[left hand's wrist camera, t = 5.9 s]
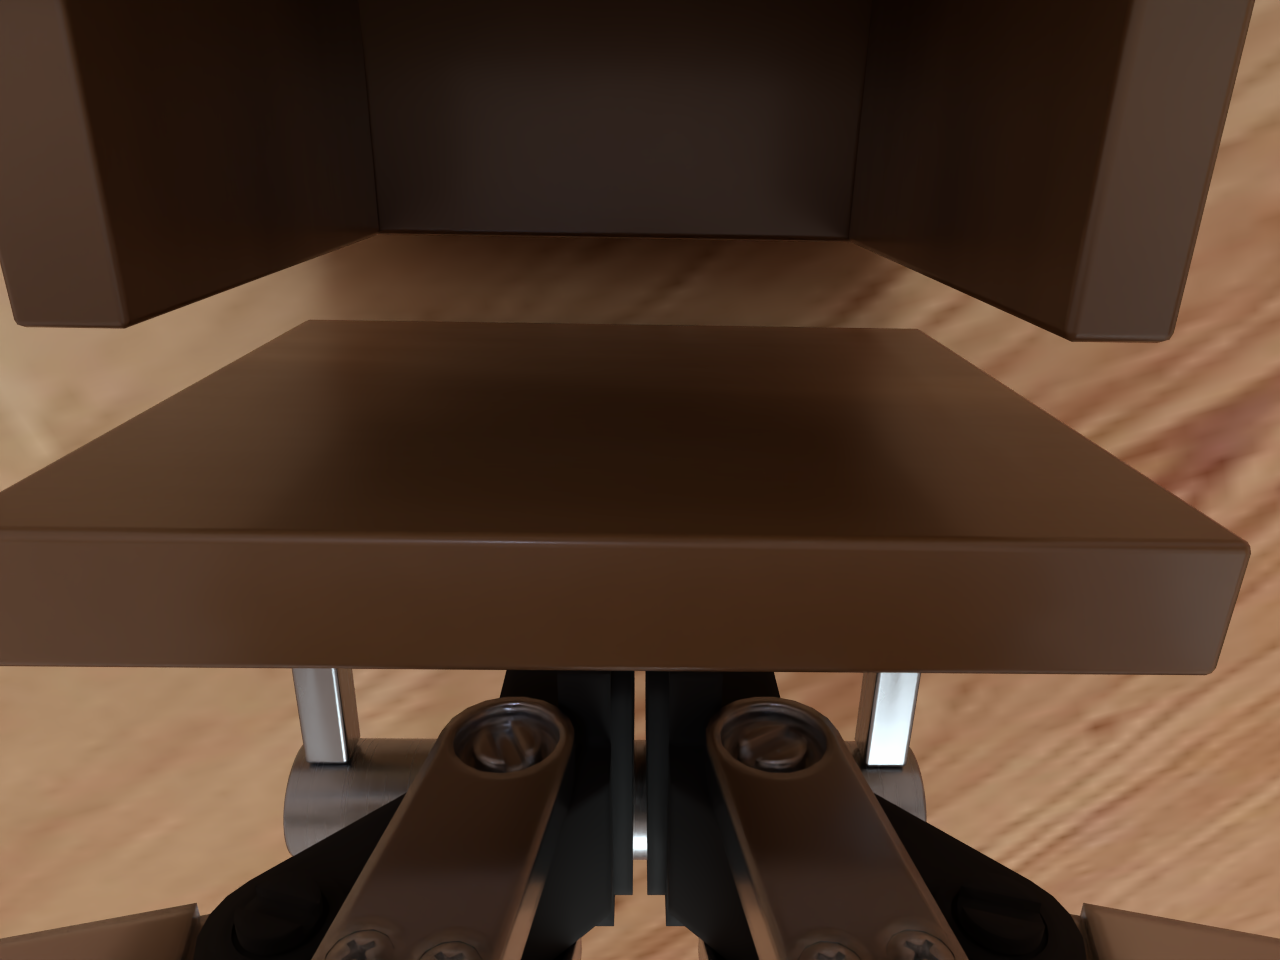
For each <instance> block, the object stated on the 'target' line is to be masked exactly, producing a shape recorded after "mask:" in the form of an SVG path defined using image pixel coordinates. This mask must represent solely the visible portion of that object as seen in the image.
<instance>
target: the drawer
mask: <svg viewBox="0 0 1280 960" xmlns="http://www.w3.org/2000/svg"><path fill="white" fill-rule="evenodd" d="M1254 2H1255V0H0V264H1V268H2V272H3V276H4V280H5V284H6V288H7V292H8V296H9V300H10V304H11V308H12V312H13V316H14V320H15V321H16V323H17V324H18V325H21V326H25V327H57V328H127V327H130V326H132V325H135V324H138V323H141V322H143V321H146V320H149V319H151V318H154V317H157V316H159V315H162V314H165V313H167V312H170V311H173V310H175V309H178V308H181V307H184V306H186V305H189V304H192V303H194V302H197V301H200V300H202V299H205V298H208V297H210V296H213V295H216V294H218V293H221V292H224V291H227V290H229V289H232V288H235V287H237V286H240V285H243V284H245V283H248V282H251V281H253V280H256V279H259V278H261V277H264V276H267V275H270V274H272V273H275V272H278V271H280V270H283V269H286V268H288V267H291V266H294V265H296V264H299V263H302V262H305V261H307V260H310V259H313V258H315V257H318V256H321V255H323V254H326V253H329V252H331V251H334V250H337V249H339V248H342V247H345V246H348V245H350V244H353V243H356V242H358V241H361V240H364V239H366V238H369V237H372V236H374V235H377V234H401V235H461V236H520V237H579V238H638V239H698V240H757V241H816V242H852V243H854V244H857V245H859V246H861V247H863V248H865V249H868V250H870V251H872V252H874V253H877V254H879V255H881V256H883V257H885V258H888V259H890V260H892V261H894V262H896V263H899V264H901V265H903V266H905V267H908V268H910V269H912V270H914V271H916V272H919V273H921V274H923V275H925V276H927V277H930V278H932V279H934V280H936V281H939V282H941V283H943V284H945V285H947V286H950V287H952V288H954V289H956V290H958V291H961V292H963V293H965V294H967V295H970V296H972V297H974V298H976V299H978V300H981V301H983V302H985V303H987V304H989V305H992V306H994V307H996V308H998V309H1001V310H1003V311H1005V312H1007V313H1009V314H1012V315H1014V316H1016V317H1018V318H1020V319H1023V320H1025V321H1027V322H1029V323H1032V324H1034V325H1036V326H1038V327H1040V328H1043V329H1045V330H1047V331H1049V332H1051V333H1054V334H1056V335H1058V336H1060V337H1062V338H1065V339H1067V340H1069V341H1071V342H1130V343H1158V342H1162V341H1165V340H1169V339H1170V338H1171V336H1172V334H1173V333H1174V329H1175V325H1176V321H1177V317H1178V313H1179V309H1180V305H1181V301H1182V296H1183V292H1184V288H1185V284H1186V280H1187V276H1188V272H1189V268H1190V264H1191V260H1192V256H1193V252H1194V247H1195V243H1196V239H1197V235H1198V231H1199V227H1200V223H1201V219H1202V215H1203V211H1204V207H1205V203H1206V198H1207V194H1208V190H1209V186H1210V182H1211V178H1212V174H1213V170H1214V166H1215V162H1216V158H1217V154H1218V149H1219V145H1220V141H1221V137H1222V133H1223V129H1224V125H1225V121H1226V117H1227V113H1228V109H1229V105H1230V100H1231V96H1232V92H1233V88H1234V84H1235V80H1236V76H1237V72H1238V68H1239V64H1240V60H1241V56H1242V51H1243V47H1244V43H1245V39H1246V35H1247V31H1248V27H1249V23H1250V19H1251V15H1252V11H1253V7H1254ZM1250 555H1251V550H1250V545H1249V544H1248V542H1247V541H1245V540H1243V539H1242V538H1240V537H1239V536H1237V535H1236V534H1234V533H1233V532H1231V531H1230V530H1228V529H1226V528H1225V527H1223V526H1222V525H1220V524H1219V523H1217V522H1216V521H1214V520H1213V519H1211V518H1209V517H1208V516H1206V515H1205V514H1203V513H1202V512H1200V511H1199V510H1197V509H1196V508H1194V507H1192V506H1191V505H1189V504H1188V503H1186V502H1185V501H1183V500H1182V499H1180V498H1179V497H1177V496H1175V495H1174V494H1172V493H1171V492H1169V491H1168V490H1166V489H1165V488H1163V487H1162V486H1160V485H1158V484H1157V483H1155V482H1154V481H1152V480H1151V479H1149V478H1148V477H1146V476H1145V475H1143V474H1141V473H1140V472H1138V471H1137V470H1135V469H1134V468H1132V467H1131V466H1129V465H1128V464H1126V463H1124V462H1123V461H1121V460H1120V459H1118V458H1117V457H1115V456H1114V455H1112V454H1111V453H1109V452H1107V451H1106V450H1104V449H1103V448H1101V447H1100V446H1098V445H1097V444H1095V443H1094V442H1092V441H1090V440H1089V439H1087V438H1086V437H1084V436H1083V435H1081V434H1080V433H1078V432H1077V431H1075V430H1073V429H1072V428H1070V427H1069V426H1067V425H1066V424H1064V423H1063V422H1061V421H1060V420H1058V419H1056V418H1055V417H1053V416H1052V415H1050V414H1049V413H1047V412H1046V411H1044V410H1043V409H1041V408H1039V407H1038V406H1036V405H1035V404H1033V403H1032V402H1030V401H1029V400H1027V399H1026V398H1024V397H1022V396H1021V395H1019V394H1018V393H1016V392H1015V391H1013V390H1012V389H1010V388H1009V387H1007V386H1005V385H1004V384H1002V383H1001V382H999V381H998V380H996V379H995V378H993V377H992V376H990V375H988V374H987V373H985V372H984V371H982V370H981V369H979V368H978V367H976V366H975V365H973V364H971V363H970V362H968V361H967V360H965V359H964V358H962V357H961V356H959V355H958V354H956V353H954V352H953V351H951V350H950V349H948V348H947V347H945V346H944V345H942V344H941V343H939V342H937V341H936V340H934V339H933V338H931V337H930V336H928V335H927V334H925V333H924V332H922V331H920V330H918V329H884V328H817V327H750V326H684V325H617V324H551V323H484V322H417V321H351V320H308V321H305V322H304V323H302V324H300V325H298V326H296V327H295V328H293V329H291V330H289V331H287V332H286V333H284V334H282V335H280V336H279V337H277V338H275V339H273V340H271V341H270V342H268V343H266V344H264V345H262V346H261V347H259V348H257V349H255V350H253V351H252V352H250V353H248V354H246V355H245V356H243V357H241V358H239V359H237V360H236V361H234V362H232V363H230V364H228V365H227V366H225V367H223V368H221V369H219V370H218V371H216V372H214V373H212V374H211V375H209V376H207V377H205V378H203V379H202V380H200V381H198V382H196V383H194V384H193V385H191V386H189V387H187V388H185V389H184V390H182V391H180V392H178V393H177V394H175V395H173V396H171V397H169V398H168V399H166V400H164V401H162V402H160V403H159V404H157V405H155V406H153V407H152V408H150V409H148V410H146V411H144V412H143V413H141V414H139V415H137V416H135V417H134V418H132V419H130V420H128V421H126V422H125V423H123V424H121V425H119V426H118V427H116V428H114V429H112V430H110V431H109V432H107V433H105V434H103V435H101V436H100V437H98V438H96V439H94V440H92V441H91V442H89V443H87V444H85V445H84V446H82V447H80V448H78V449H76V450H75V451H73V452H71V453H69V454H67V455H66V456H64V457H62V458H60V459H58V460H57V461H55V462H53V463H51V464H50V465H48V466H46V467H44V468H42V469H41V470H39V471H37V472H35V473H33V474H32V475H30V476H28V477H26V478H24V479H23V480H21V481H19V482H17V483H16V484H14V485H12V486H10V487H8V488H7V489H5V490H3V491H1V492H0V666H66V667H199V668H292V673H293V680H294V686H295V693H296V700H297V706H298V713H299V719H300V726H301V732H302V739H303V745H302V747H301V748H300V750H299V751H298V753H297V756H296V758H295V760H294V763H293V766H292V768H291V772H290V775H289V779H288V783H287V788H286V794H285V801H284V816H283V822H284V836H285V842H286V846H287V849H288V851H289V853H290V854H291V855H292V856H294V855H296V854H298V853H300V852H301V851H303V850H305V849H307V848H309V847H310V846H312V845H314V844H316V843H317V842H319V841H321V840H323V839H325V838H326V837H328V836H330V835H332V834H334V833H335V832H337V831H339V830H341V829H342V828H344V827H346V826H348V825H350V824H351V823H353V822H355V821H357V820H358V819H360V818H362V817H364V816H366V815H367V814H369V813H371V812H373V811H374V810H376V809H378V808H380V807H382V806H383V805H385V804H387V803H389V802H391V801H392V800H394V799H396V798H398V797H399V796H401V795H403V794H405V793H407V791H408V789H409V788H410V786H411V784H412V782H413V781H414V779H415V777H416V775H417V774H418V772H419V770H420V768H421V767H422V765H423V763H424V761H425V760H426V758H427V756H428V754H429V753H430V751H431V749H432V747H433V746H434V744H435V742H436V740H437V739H386V738H360V730H359V722H358V714H357V706H356V698H355V689H354V681H353V673H352V669H464V670H596V671H729V672H862V673H863V680H862V688H861V696H860V703H859V711H858V718H857V726H856V733H855V741H844V742H845V744H846V746H847V747H848V749H849V751H850V753H851V754H852V756H853V758H854V760H855V761H856V763H857V765H858V767H859V768H860V770H861V772H862V774H863V775H864V777H865V779H866V781H867V782H868V784H869V786H870V788H871V789H872V791H873V793H875V794H877V795H879V796H881V797H882V798H884V799H886V800H888V801H889V802H891V803H893V804H895V805H897V806H898V807H900V808H902V809H904V810H906V811H907V812H909V813H911V814H913V815H914V816H916V817H918V818H920V819H922V820H923V821H925V822H926V801H925V792H924V786H923V781H922V777H921V773H920V769H919V766H918V763H917V760H916V758H915V755H914V753H913V752H912V750H911V748H910V747H909V745H910V738H911V732H912V726H913V720H914V713H915V707H916V701H917V695H918V689H919V682H920V676H921V673H994V674H1127V675H1207V674H1210V673H1212V672H1213V671H1214V670H1215V668H1216V666H1217V662H1218V659H1219V656H1220V653H1221V649H1222V646H1223V643H1224V640H1225V636H1226V633H1227V630H1228V627H1229V623H1230V620H1231V617H1232V613H1233V610H1234V607H1235V604H1236V600H1237V597H1238V594H1239V591H1240V587H1241V584H1242V581H1243V578H1244V574H1245V571H1246V568H1247V565H1248V561H1249V558H1250ZM633 860H647V804H646V740H634V803H633Z"/></svg>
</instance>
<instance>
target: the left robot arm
mask: <svg viewBox="0 0 1280 960" xmlns="http://www.w3.org/2000/svg"><path fill="white" fill-rule="evenodd" d="M633 803H634V671H596V670H507V671H506V675H505V679H504V683H503V687H502V691H501V695H500V698H497V699H492V700H487V701H484V702H481V703H479V704H476V705H474V706H471V707H469V708H467V709H465V710H464V711H462V712H461V713H459V714H458V715H456V716H455V717H453V718H452V719H451V721H450V722H449V723H448V724H447V725H446V727H445V728H444V729H443V730H442V732H441V733H440V735H439V737H438V739H437V740H436V742H435V744H434V746H433V747H432V749H431V751H430V753H429V754H428V756H427V758H426V760H425V761H424V763H423V765H422V767H421V768H420V770H419V772H418V774H417V775H416V777H415V779H414V781H413V782H412V784H411V786H410V788H409V789H408V791H407V793H405V794H403V795H401V796H399V797H398V798H396V799H394V800H392V801H391V802H389V803H387V804H385V805H383V806H382V807H380V808H378V809H376V810H374V811H373V812H371V813H369V814H367V815H366V816H364V817H362V818H360V819H358V820H357V821H355V822H353V823H351V824H350V825H348V826H346V827H344V828H342V829H341V830H339V831H337V832H335V833H334V834H332V835H330V836H328V837H326V838H325V839H323V840H321V841H319V842H317V843H316V844H314V845H312V846H310V847H309V848H307V849H305V850H303V851H301V852H300V853H298V854H296V855H294V856H293V857H291V858H289V859H287V860H285V861H284V862H282V863H280V864H278V865H277V866H275V867H273V868H271V869H269V870H268V871H266V872H264V873H262V874H261V875H259V876H257V877H255V878H253V879H252V880H250V881H248V882H247V883H245V884H244V885H243V886H241V887H240V888H238V889H237V890H235V891H234V892H232V893H231V894H230V895H228V896H227V897H226V898H225V899H224V900H223V901H222V902H221V903H220V904H219V905H218V906H217V907H216V908H215V910H214V911H213V912H212V913H211V914H208V915H202V916H200V915H199V911H198V907H197V903H194V904H188V905H183V906H177V907H172V908H166V909H161V910H155V911H150V912H144V913H139V914H133V915H128V916H122V917H117V918H111V919H106V920H100V921H95V922H90V923H84V924H79V925H73V926H68V927H62V928H57V929H51V930H46V931H40V932H35V933H29V934H24V935H18V936H13V937H7V938H2V939H0V960H581V953H582V943H581V937H582V936H583V935H585V934H586V933H587V932H588V931H590V930H591V929H592V928H593V927H595V926H614V906H615V895H633ZM646 804H647V895H665V907H666V926H685V927H687V928H688V929H689V930H690V931H692V932H693V933H694V934H695V935H696V936H698V937H699V943H698V953H699V960H1280V939H1278V938H1273V937H1267V936H1262V935H1256V934H1251V933H1245V932H1240V931H1234V930H1229V929H1223V928H1218V927H1212V926H1207V925H1201V924H1196V923H1190V922H1185V921H1180V920H1174V919H1169V918H1163V917H1158V916H1152V915H1147V914H1141V913H1136V912H1130V911H1125V910H1119V909H1114V908H1108V907H1103V906H1097V905H1092V904H1086V903H1083V907H1082V911H1081V915H1080V916H1078V915H1072V914H1069V913H1068V912H1067V911H1066V910H1065V908H1064V907H1063V906H1062V905H1061V904H1060V903H1059V902H1058V901H1057V900H1056V899H1055V898H1054V897H1053V896H1052V895H1050V894H1049V893H1048V892H1046V891H1045V890H1043V889H1042V888H1040V887H1039V886H1037V885H1036V884H1035V883H1033V882H1032V881H1030V880H1028V879H1027V878H1025V877H1023V876H1021V875H1019V874H1018V873H1016V872H1014V871H1012V870H1011V869H1009V868H1007V867H1005V866H1003V865H1002V864H1000V863H998V862H996V861H995V860H993V859H991V858H989V857H987V856H986V855H984V854H982V853H980V852H979V851H977V850H975V849H973V848H971V847H970V846H968V845H966V844H964V843H962V842H961V841H959V840H957V839H955V838H954V837H952V836H950V835H948V834H946V833H945V832H943V831H941V830H939V829H938V828H936V827H934V826H932V825H930V824H929V823H927V822H925V821H923V820H922V819H920V818H918V817H916V816H914V815H913V814H911V813H909V812H907V811H906V810H904V809H902V808H900V807H898V806H897V805H895V804H893V803H891V802H889V801H888V800H886V799H884V798H882V797H881V796H879V795H877V794H875V793H873V791H872V789H871V788H870V786H869V784H868V782H867V781H866V779H865V777H864V775H863V774H862V772H861V770H860V768H859V767H858V765H857V763H856V761H855V760H854V758H853V756H852V754H851V753H850V751H849V749H848V747H847V746H846V744H845V742H844V740H843V739H842V737H841V735H840V733H839V732H838V730H837V729H836V728H835V727H834V725H833V724H832V723H831V722H830V721H829V719H828V718H827V717H825V716H824V715H822V714H821V713H819V712H818V711H816V710H815V709H813V708H811V707H809V706H806V705H804V704H801V703H799V702H796V701H793V700H788V699H783V698H780V695H779V691H778V687H777V683H776V679H775V675H774V672H729V671H646Z"/></svg>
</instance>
